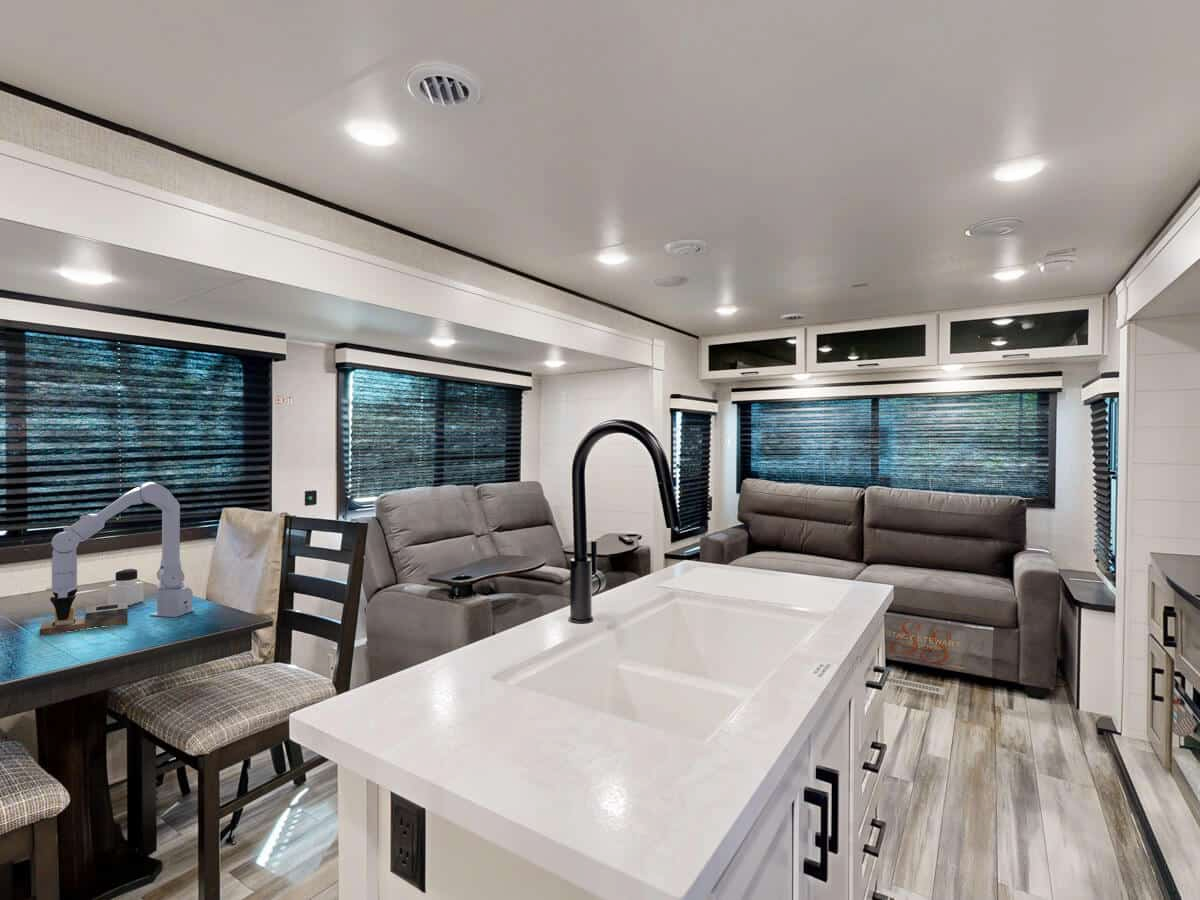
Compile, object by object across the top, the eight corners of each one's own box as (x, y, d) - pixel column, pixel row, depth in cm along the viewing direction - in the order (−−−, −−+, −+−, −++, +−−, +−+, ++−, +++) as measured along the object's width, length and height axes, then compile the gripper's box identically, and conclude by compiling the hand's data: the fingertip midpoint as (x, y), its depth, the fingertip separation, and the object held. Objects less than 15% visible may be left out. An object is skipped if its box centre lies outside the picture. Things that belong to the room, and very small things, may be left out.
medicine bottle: (144, 601, 212) (144, 568, 212) (126, 607, 205) (126, 572, 205) (125, 600, 213) (126, 567, 212) (107, 606, 205) (107, 571, 205)
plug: (73, 626, 183) (74, 605, 183) (72, 629, 180) (73, 608, 180) (56, 628, 180) (56, 607, 180) (55, 632, 177) (55, 610, 177)
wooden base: (127, 617, 193) (127, 601, 193) (127, 624, 186) (127, 608, 186) (42, 628, 180) (42, 611, 180) (39, 636, 173) (39, 618, 173)
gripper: (48, 569, 183) (48, 613, 183) (44, 578, 172) (43, 625, 172) (79, 566, 187) (78, 609, 188) (76, 575, 176) (76, 620, 176)
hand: (64, 616), depth 180 cm, fingers open, 7 cm apart
